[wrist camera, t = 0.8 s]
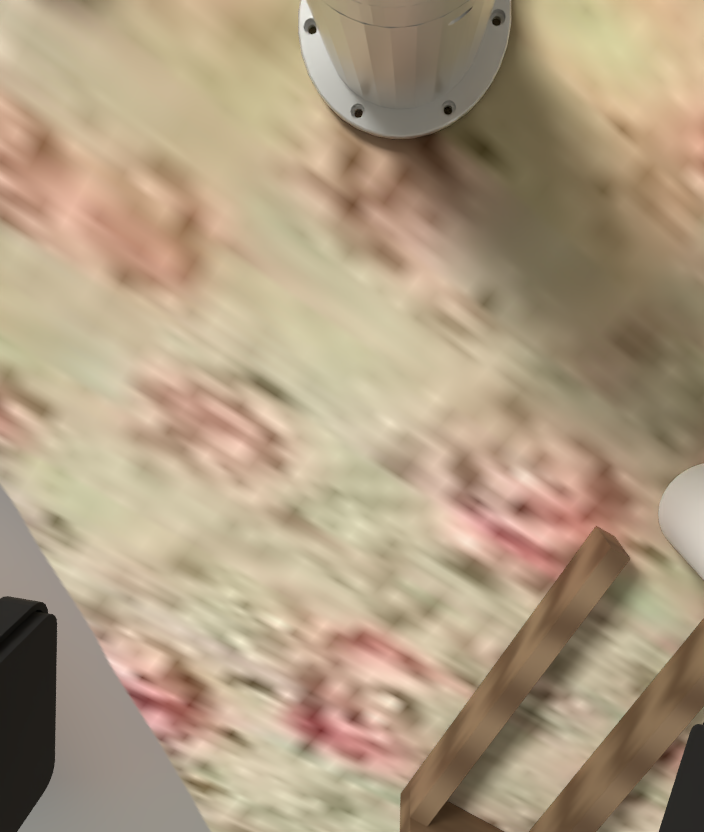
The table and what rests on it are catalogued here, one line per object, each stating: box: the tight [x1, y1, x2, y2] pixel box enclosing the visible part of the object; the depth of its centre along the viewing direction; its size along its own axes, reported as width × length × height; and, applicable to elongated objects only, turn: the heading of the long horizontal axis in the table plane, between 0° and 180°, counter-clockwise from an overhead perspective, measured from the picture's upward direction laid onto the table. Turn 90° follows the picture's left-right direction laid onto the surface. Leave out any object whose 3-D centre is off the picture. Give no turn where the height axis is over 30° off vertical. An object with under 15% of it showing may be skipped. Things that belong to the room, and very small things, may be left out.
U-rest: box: [400, 526, 704, 832], centre depth 47 cm, size 28×12×5 cm, turn 151°
